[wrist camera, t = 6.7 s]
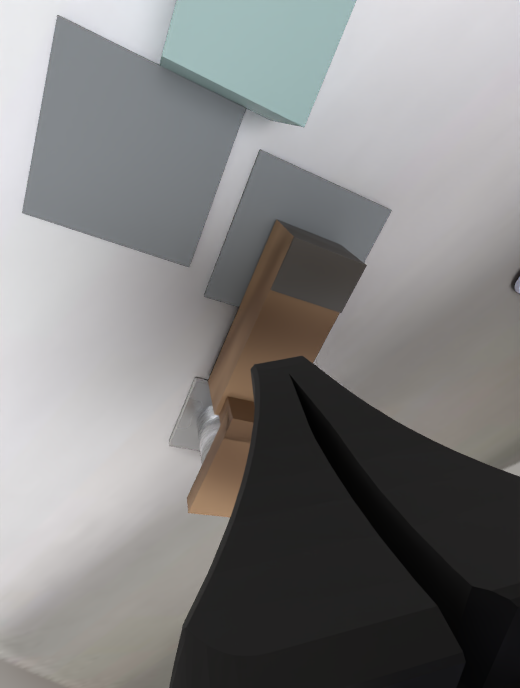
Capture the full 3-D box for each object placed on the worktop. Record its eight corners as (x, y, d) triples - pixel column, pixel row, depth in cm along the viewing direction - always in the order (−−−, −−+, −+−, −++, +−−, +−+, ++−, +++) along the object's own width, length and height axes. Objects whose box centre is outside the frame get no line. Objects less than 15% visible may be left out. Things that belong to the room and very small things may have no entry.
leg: (234, 457, 22) (248, 518, 19) (179, 449, 21) (183, 512, 18) (340, 244, 18) (382, 278, 14) (276, 219, 16) (306, 249, 13)
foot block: (319, -11, 14) (375, -47, 10) (270, 120, 15) (303, 127, 12) (201, -88, 12) (219, -159, 9) (159, 65, 14) (161, 55, 10)
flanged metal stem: (272, 394, 21) (289, 438, 18) (242, 453, 23) (254, 502, 20) (195, 377, 20) (202, 422, 17) (169, 441, 21) (171, 492, 19)
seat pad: (245, 107, 15) (245, 108, 15) (188, 265, 17) (189, 267, 17) (58, 15, 12) (57, 14, 12) (23, 211, 15) (21, 212, 15)
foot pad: (390, 209, 18) (391, 210, 17) (325, 332, 20) (326, 333, 20) (260, 149, 15) (260, 150, 15) (204, 295, 18) (204, 296, 18)
